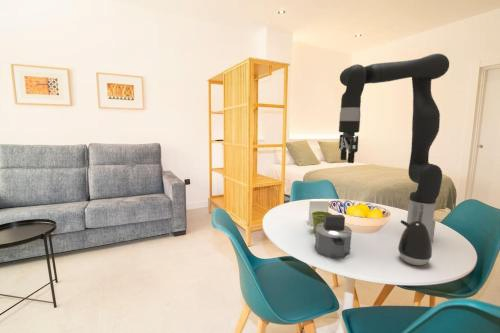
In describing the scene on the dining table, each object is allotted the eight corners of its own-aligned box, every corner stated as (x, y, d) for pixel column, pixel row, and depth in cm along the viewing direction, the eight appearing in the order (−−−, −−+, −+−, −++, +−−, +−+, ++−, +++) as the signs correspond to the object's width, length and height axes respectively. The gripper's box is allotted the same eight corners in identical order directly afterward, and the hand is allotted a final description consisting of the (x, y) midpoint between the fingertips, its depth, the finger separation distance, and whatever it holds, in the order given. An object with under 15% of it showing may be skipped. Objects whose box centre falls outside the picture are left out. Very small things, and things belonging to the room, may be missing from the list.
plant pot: (333, 238, 113) (334, 218, 112) (310, 236, 115) (311, 217, 114) (331, 229, 122) (332, 211, 121) (310, 227, 124) (311, 210, 123)
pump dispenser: (399, 251, 102) (403, 214, 99) (431, 261, 95) (437, 220, 93) (393, 262, 94) (398, 221, 91) (428, 272, 87) (434, 229, 85)
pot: (340, 241, 110) (341, 223, 109) (355, 262, 93) (357, 241, 92) (311, 240, 110) (312, 222, 109) (321, 261, 94) (323, 240, 92)
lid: (344, 225, 107) (345, 210, 106) (356, 238, 94) (358, 222, 93) (312, 224, 107) (313, 210, 106) (320, 237, 94) (321, 221, 93)
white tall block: (324, 220, 134) (326, 198, 132) (329, 227, 125) (331, 203, 123) (306, 220, 134) (308, 197, 132) (310, 227, 125) (311, 202, 123)
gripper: (367, 119, 95) (363, 164, 97) (352, 120, 109) (349, 159, 111) (346, 119, 95) (343, 164, 97) (334, 120, 109) (332, 159, 111)
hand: (346, 161), depth 104 cm, fingers open, 8 cm apart
